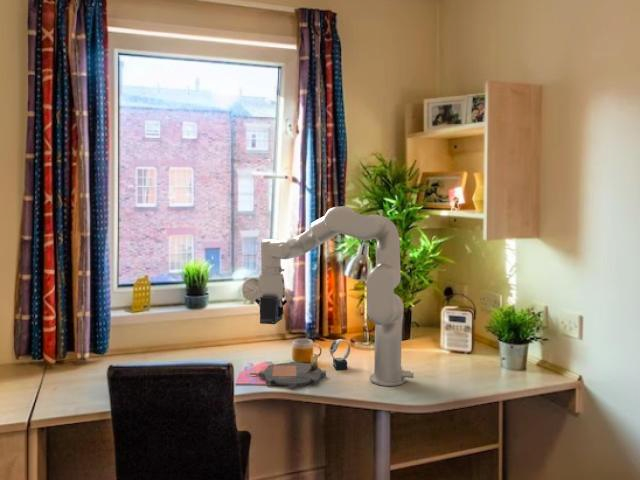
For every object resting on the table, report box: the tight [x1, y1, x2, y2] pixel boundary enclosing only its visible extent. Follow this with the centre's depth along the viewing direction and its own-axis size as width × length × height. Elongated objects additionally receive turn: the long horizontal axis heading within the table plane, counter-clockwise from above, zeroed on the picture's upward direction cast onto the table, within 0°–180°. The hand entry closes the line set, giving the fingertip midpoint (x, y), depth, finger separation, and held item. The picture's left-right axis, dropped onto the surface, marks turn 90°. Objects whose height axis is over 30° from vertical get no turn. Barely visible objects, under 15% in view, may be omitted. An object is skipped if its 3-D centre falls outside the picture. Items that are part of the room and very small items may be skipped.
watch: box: [328, 338, 351, 371], centre depth 213 cm, size 6×8×11 cm
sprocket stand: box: [249, 370, 260, 376], centre depth 203 cm, size 21×10×1 cm, turn 79°
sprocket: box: [258, 353, 327, 389], centre depth 202 cm, size 24×24×7 cm
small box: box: [259, 296, 283, 325], centre depth 217 cm, size 11×6×10 cm, turn 168°
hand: (271, 315), depth 217 cm, fingers closed on small box, 6 cm apart
